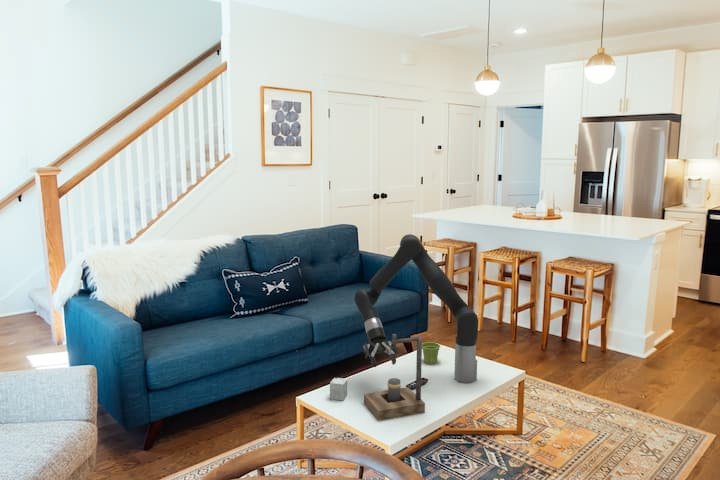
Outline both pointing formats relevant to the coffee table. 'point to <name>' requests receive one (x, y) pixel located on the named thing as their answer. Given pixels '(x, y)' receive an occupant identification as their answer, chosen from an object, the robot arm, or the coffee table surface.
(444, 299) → the robot arm
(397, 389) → the banded grey cylinder
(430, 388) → the coffee table surface
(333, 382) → the skincare box
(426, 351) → the plant pot
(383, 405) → the wooden gallows stand
